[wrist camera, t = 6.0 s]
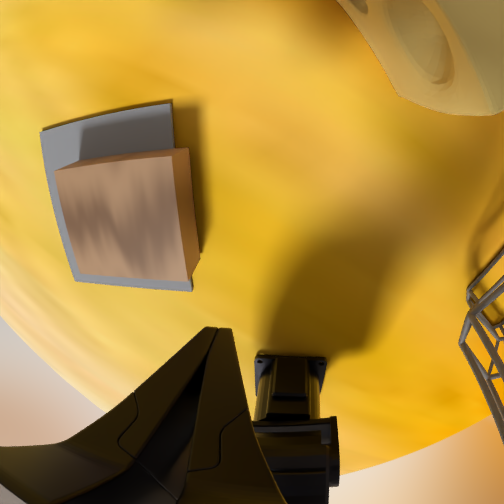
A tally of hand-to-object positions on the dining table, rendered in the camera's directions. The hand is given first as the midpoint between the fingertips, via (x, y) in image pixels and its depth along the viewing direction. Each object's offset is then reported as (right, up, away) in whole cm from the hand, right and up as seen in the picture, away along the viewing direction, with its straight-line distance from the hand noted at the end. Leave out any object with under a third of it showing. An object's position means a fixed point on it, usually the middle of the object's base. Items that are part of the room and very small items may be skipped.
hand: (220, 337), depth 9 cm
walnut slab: (-3, +5, +9) cm, 11 cm away
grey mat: (-10, +6, +12) cm, 16 cm away
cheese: (+12, +18, +3) cm, 21 cm away
